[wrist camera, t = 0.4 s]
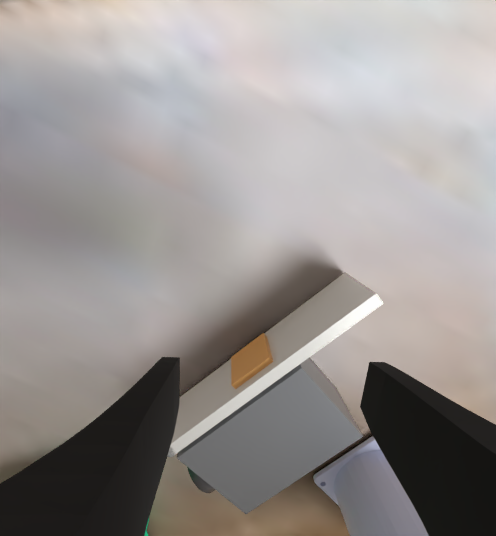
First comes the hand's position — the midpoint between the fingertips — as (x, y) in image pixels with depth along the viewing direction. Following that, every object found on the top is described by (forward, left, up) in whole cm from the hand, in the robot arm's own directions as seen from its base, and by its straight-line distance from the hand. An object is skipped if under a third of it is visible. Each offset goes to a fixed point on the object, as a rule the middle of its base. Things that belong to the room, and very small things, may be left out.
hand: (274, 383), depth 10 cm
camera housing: (-8, +5, -10) cm, 13 cm away
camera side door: (-3, +2, -9) cm, 10 cm away
